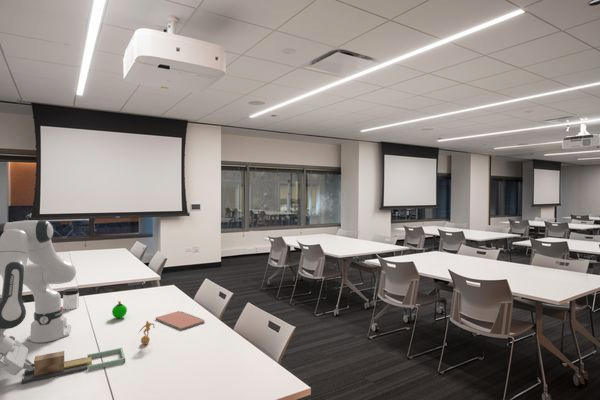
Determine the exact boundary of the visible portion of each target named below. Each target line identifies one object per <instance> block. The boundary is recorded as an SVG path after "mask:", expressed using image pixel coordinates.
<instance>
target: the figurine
mask: <svg viewBox="0 0 600 400" xmlns="http://www.w3.org/2000/svg"><path fill="white" fill-rule="evenodd" d="M145 322H146V323H145V325H144V326H142V327H141V329H139V331H138V333H140V332H141V331H142V330H143V334H144V336H142V337H141V338H140V342H141V344H143V345H147V344H149V342H150V337H149V335H150V334H149V331H150V330H151V325H153V327H152V328H153V329H155V323H154V322H153V323H152V322H149V321H148V320H146V321H145Z"/></svg>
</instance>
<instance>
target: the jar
mask: <svg viewBox="0 0 600 400" xmlns="http://www.w3.org/2000/svg"><path fill="white" fill-rule="evenodd" d="M62 304H63V305H62V307H63V310H65V309H66V310H65V311H70V309H71V310H76V309H78V308H79V307H80V293H79V288H77V287H75V288H72V287H71V288H66V289H64V290H63V295H62ZM75 308H76V309H75Z"/></svg>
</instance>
